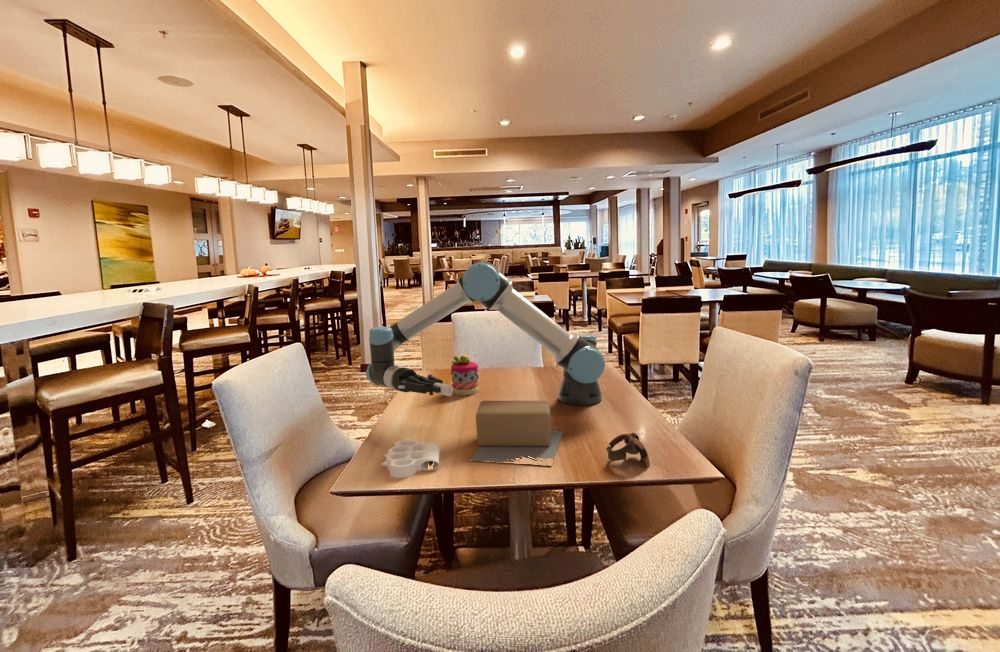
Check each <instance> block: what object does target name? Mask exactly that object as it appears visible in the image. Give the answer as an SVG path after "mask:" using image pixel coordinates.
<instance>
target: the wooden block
mask: <svg viewBox="0 0 1000 652" xmlns="http://www.w3.org/2000/svg"><path fill="white" fill-rule="evenodd" d="M475 421H476V422H475V423H476V426H475V427H476V442H477V444H478V446H479V447H480V446H549V445H550V433H551V431H552V430H551V429H552V428H551V403H550V401H549V400H482V401H480V403H479V406H478V408H477V410H476V414H475Z"/></svg>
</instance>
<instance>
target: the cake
mask: <svg viewBox="0 0 1000 652" xmlns="http://www.w3.org/2000/svg"><path fill="white" fill-rule="evenodd" d="M453 360H454V361H451V365H450V370H451V371H450V374H451V379H452V380H451V382H452V384H451V386H452V395H455V396H459V395H463V396H462V397H465V396H466V395H469V396H473V395H472V394H474V395H477V394H479V386H480V380H479V378H480V377H479V365H478V363H477V362H475V361H470V357H469V355H466V354H464V355H461V356H460V357H459V356H457V355H454V356H453ZM476 393H477V394H476Z"/></svg>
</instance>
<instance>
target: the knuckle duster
mask: <svg viewBox="0 0 1000 652" xmlns="http://www.w3.org/2000/svg"><path fill="white" fill-rule="evenodd" d="M440 452H441V447H440V445H439V444H437V443H436V442H419V441H418V440H417V439H403V440H399V441H397V442H395V445H394V446H392V447H390V448H389V449H388V451H387V453H385V454H383V456H384V457H385V458H386V460H385V461H384V462H382V463H381V464H380V465H381V466H383V467H386V468H387V470H388V471H389V473H390V474H389V475H391V476H390V477H392V478H394V477H395V479H405V477H406V478H409V476H410V477H411V476H412V477H413V476H414V475H415V474H416V473H418V472H422V471H421V470H424V471H428V462H429V461H430V462H432V461H434V465H433V470H432V471H434V470H437V468H438V469H439V467H440ZM430 462H429V463H430ZM417 471H418V472H417ZM413 474H414V475H413Z"/></svg>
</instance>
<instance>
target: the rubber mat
mask: <svg viewBox="0 0 1000 652" xmlns="http://www.w3.org/2000/svg"><path fill="white" fill-rule="evenodd" d="M562 434H564V431H562V430H551V433H550V445H549V446H479V447H478V448H477V450H476V452H474V454H473V456H471V458H470V460H472V461H471V462H473V461H490V462H492V461H493V462H505V461H506V462H508V461H509V462H514V461H513V460H515V461H516V459H515V458H520V459H522V457H525V458H529V457H528V456H530V457H533V458H535V459H537V457H538V458H543V459H545V458H546V459H548V458H550V459H551V458H554V457H556V455H557V452H558V449H559V447H560V443H561V441H562V438H561V437H563V435H562ZM557 448H558V449H557ZM556 451H557V452H556ZM555 454H556V455H555ZM521 456H522V457H521ZM553 456H554V457H553ZM507 459H508V460H507ZM511 459H513V460H511ZM529 459H532V458H529ZM535 459H532V460H534V461H538V460H539V459H538V460H535ZM554 459H555V458H554ZM518 461H519V460H518ZM540 461H542V460H540ZM545 461H546V460H545ZM542 462H543V461H542Z"/></svg>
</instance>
